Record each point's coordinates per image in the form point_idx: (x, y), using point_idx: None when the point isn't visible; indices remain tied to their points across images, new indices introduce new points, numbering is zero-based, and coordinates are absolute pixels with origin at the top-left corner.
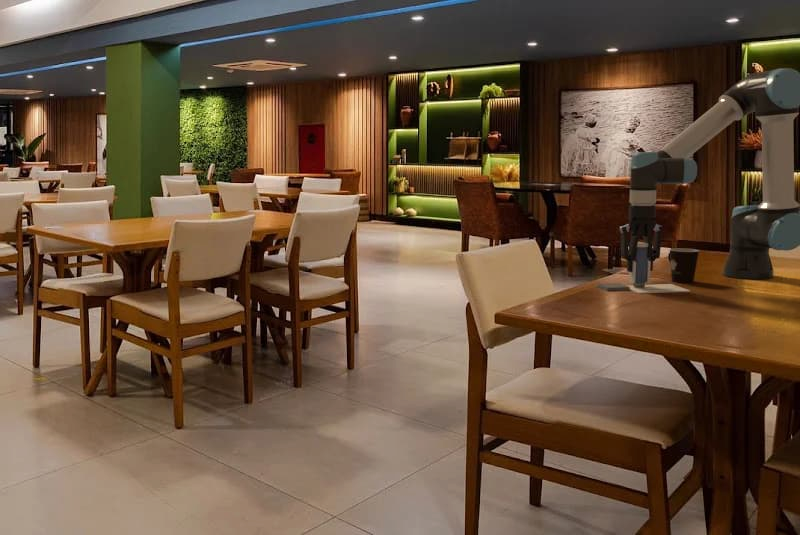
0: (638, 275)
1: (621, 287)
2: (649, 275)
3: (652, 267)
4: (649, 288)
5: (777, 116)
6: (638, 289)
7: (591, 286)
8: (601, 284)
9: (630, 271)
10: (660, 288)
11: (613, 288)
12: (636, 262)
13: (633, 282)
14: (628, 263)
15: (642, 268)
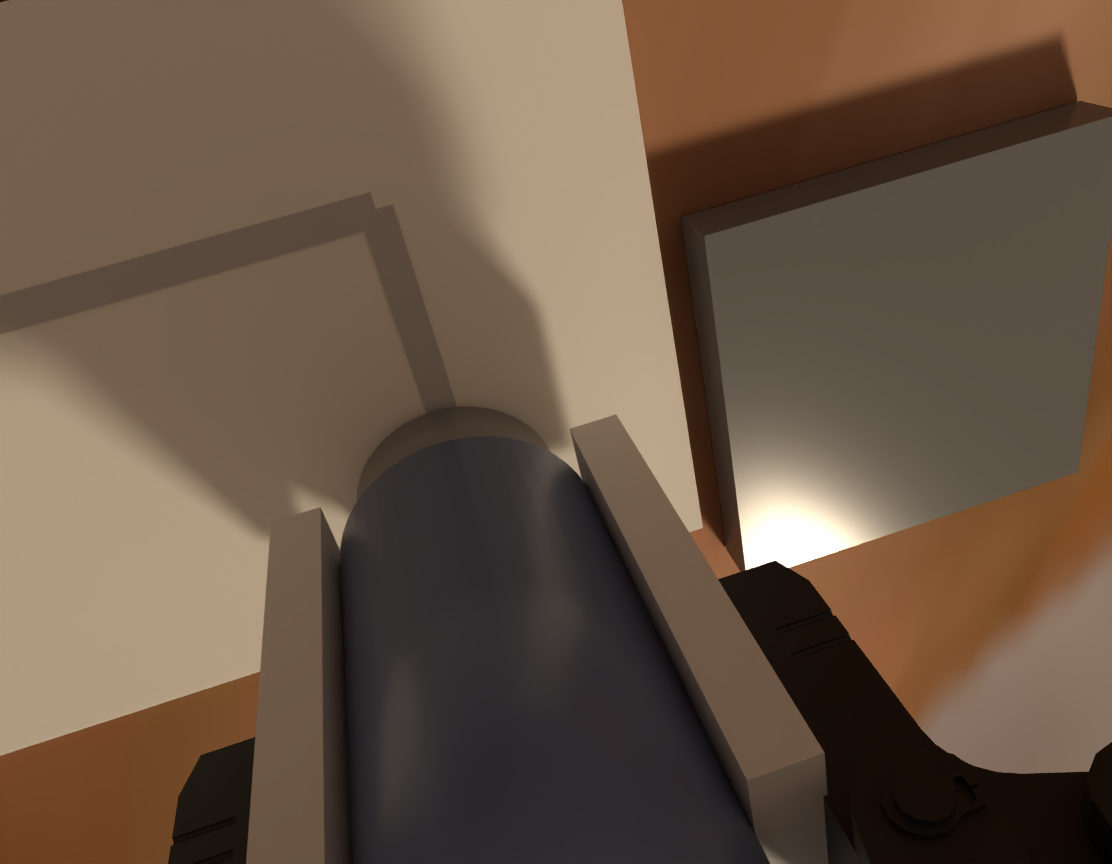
0: (550, 519)
1: (862, 188)
2: (276, 619)
3: (183, 841)
4: (289, 354)
5: None
6: (526, 224)
7: (1097, 466)
8: (1063, 408)
9: (751, 576)
10: (57, 382)
11: (1000, 143)
12: (712, 779)
13: (608, 425)
14: (901, 729)
15: (499, 636)
